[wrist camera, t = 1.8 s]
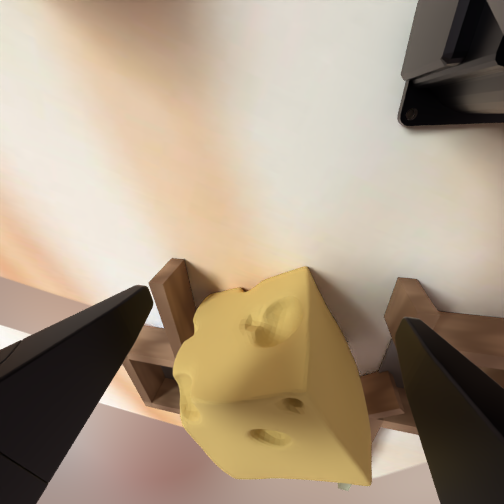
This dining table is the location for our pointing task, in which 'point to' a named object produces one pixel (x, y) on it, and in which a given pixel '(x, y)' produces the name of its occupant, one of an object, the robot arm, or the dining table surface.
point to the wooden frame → (374, 385)
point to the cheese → (274, 385)
